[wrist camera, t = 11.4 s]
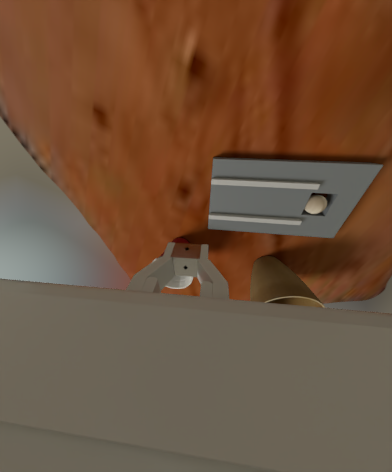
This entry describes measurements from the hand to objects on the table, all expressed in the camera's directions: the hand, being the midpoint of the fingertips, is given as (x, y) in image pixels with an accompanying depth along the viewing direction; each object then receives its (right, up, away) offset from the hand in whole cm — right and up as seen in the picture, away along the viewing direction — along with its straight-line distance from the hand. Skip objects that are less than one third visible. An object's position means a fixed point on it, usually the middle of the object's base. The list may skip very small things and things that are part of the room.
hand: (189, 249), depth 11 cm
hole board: (+19, +10, +23) cm, 31 cm away
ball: (+26, +8, +20) cm, 34 cm away
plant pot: (+23, -8, +34) cm, 42 cm away
